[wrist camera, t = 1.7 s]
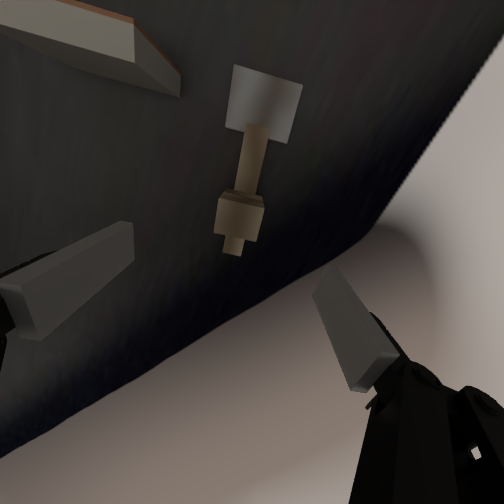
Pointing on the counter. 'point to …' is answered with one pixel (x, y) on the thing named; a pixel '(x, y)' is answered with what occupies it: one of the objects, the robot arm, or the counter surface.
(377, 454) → the robot arm
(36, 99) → the counter surface
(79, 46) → the tile
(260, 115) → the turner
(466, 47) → the counter surface
